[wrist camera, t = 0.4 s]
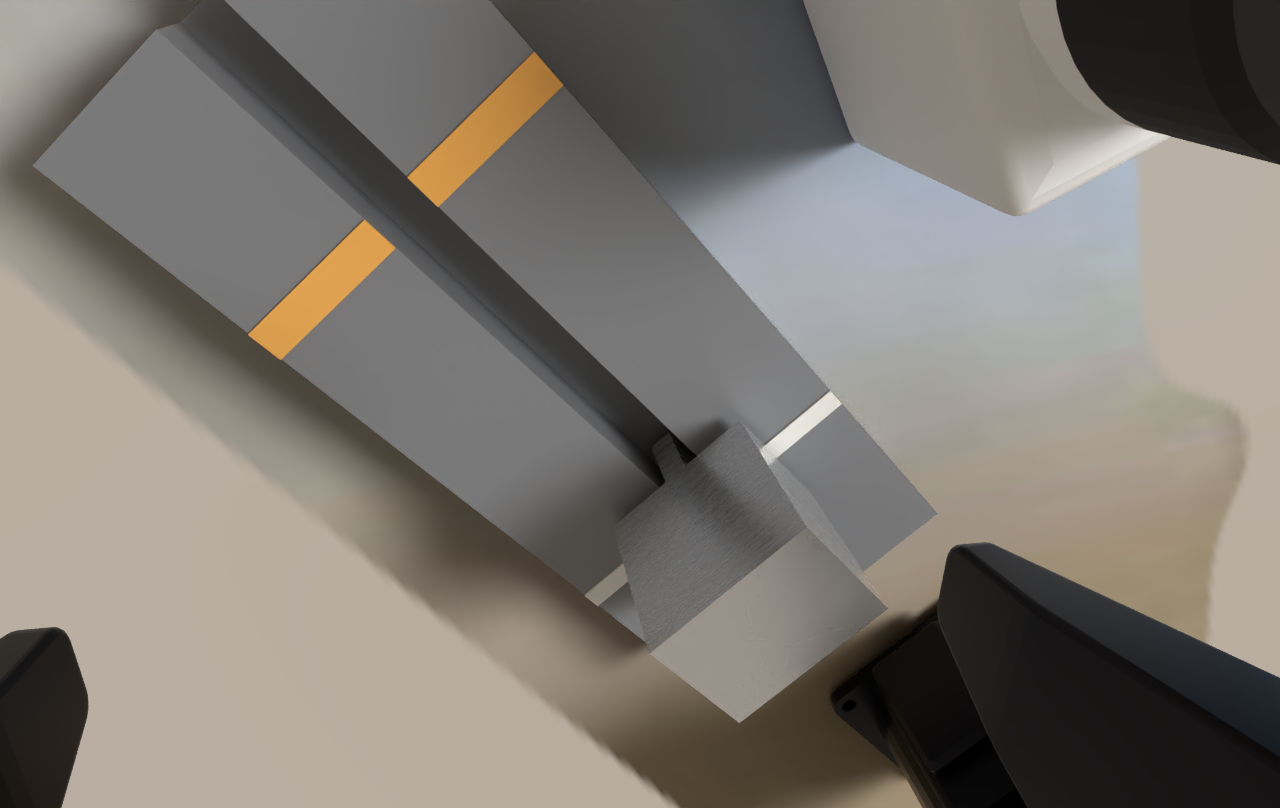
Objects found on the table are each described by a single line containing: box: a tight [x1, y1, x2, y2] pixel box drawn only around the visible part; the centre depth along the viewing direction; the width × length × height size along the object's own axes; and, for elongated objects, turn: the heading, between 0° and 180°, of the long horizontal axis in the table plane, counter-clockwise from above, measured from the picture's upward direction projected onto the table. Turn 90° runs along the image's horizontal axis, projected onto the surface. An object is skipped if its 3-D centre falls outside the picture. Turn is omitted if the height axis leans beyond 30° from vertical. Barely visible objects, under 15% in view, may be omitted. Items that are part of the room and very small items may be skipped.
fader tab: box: [613, 420, 888, 723], centre depth 21 cm, size 3×4×6 cm
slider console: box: [32, 0, 937, 642], centre depth 21 cm, size 20×8×3 cm, turn 41°
